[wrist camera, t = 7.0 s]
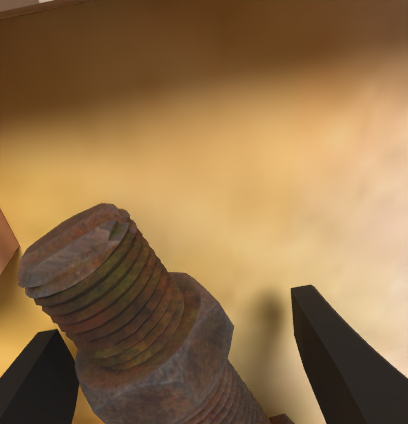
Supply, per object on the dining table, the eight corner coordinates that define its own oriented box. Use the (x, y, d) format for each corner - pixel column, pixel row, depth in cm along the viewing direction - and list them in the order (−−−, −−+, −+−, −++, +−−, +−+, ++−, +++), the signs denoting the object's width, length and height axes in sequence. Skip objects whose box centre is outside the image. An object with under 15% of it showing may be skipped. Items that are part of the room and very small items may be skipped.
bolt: (115, 166, 13) (272, 406, 19) (-23, 258, 11) (199, 484, 18) (192, 195, 8) (368, 505, 14) (-38, 368, 6) (277, 623, 13)
